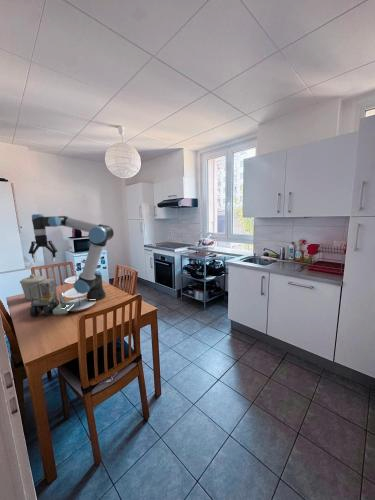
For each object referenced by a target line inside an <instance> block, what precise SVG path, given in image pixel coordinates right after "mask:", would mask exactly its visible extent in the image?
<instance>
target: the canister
mask: <svg viewBox="0 0 375 500" xmlns="http://www.w3.org/2000/svg"><path fill="white" fill-rule="evenodd" d="M45 280H46V276H43V275H35V274H30V275H29V276H28V277H25V278H23V279H21V280H20V281H19V284H20V285H21V288H22V291H23V295H24V297H25V299H26V300H28V301H31V299H30V293H29V287H30V286H32V285H34V284H36V283H39V286H40V283H41V282H43V281H45ZM31 290H32V296H33V301H36V300H37V299H39V294H38V288H37V285H36V286H34V287H32V288H31ZM40 292H41V289H40ZM42 297H43V296H42V293H41V298H42Z"/></svg>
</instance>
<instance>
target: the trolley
mask: <svg viewBox="0 0 375 500" xmlns="http://www.w3.org/2000/svg"><path fill="white" fill-rule="evenodd" d="M36 285H37V288H38V294H39V299H35V300H33V296H32V290H31V288H32V287H34V286H36ZM29 293H30V299H31V300H30V308H29V314H30V316H31V317H38V316H39V315H40V313H41V312H42V313H43V314H44V316H51V315H52V314H53V309H55V308H56V307H57V306H58V305H60V299H58V296H57V297H53V295H47V296H43V297H42V298H41V292H40V286H39V283H36V284H34V285H32V286H30V287H29Z"/></svg>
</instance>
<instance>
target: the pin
mask: <svg viewBox="0 0 375 500" xmlns="http://www.w3.org/2000/svg"><path fill="white" fill-rule="evenodd" d="M58 296H59V297H58V298H59V304H61V308H65V307H66V304H65V302H66V300H65V299H66V298H65V293H64V292H60V293H58Z"/></svg>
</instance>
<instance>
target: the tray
mask: <svg viewBox="0 0 375 500" xmlns="http://www.w3.org/2000/svg"><path fill="white" fill-rule="evenodd" d="M65 304H66V305H69V306H68V307H66V308H65V309H61V303H59V305H58V306H57V307H56V308H55V309H53V313H52V314H53V315H55V316H56V315H57V316H58V315H66V314H68V313H69V312H68V311H67V309H69V308H70V307H71V306H72V305H73V304H74V305H75V302H74V301H65Z"/></svg>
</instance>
